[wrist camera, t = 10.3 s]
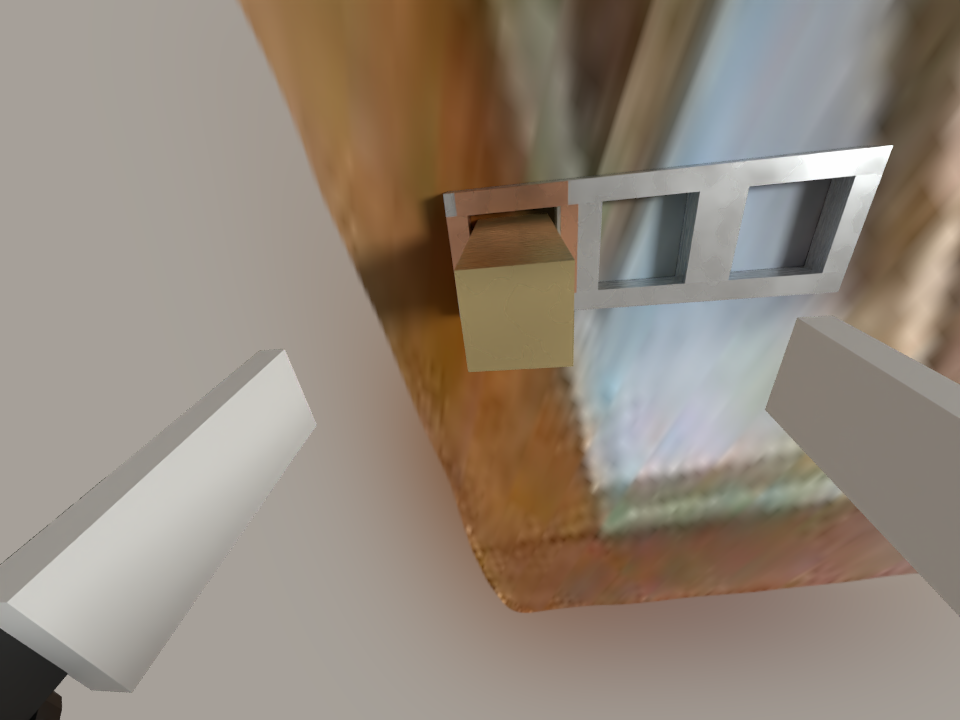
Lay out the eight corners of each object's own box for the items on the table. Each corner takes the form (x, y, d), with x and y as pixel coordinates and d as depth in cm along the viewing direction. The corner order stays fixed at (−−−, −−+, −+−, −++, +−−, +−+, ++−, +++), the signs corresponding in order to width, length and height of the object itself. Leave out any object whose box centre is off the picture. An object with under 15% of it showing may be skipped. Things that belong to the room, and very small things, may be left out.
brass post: (478, 219, 24) (453, 270, 14) (546, 212, 24) (575, 260, 13) (485, 284, 26) (468, 371, 16) (547, 279, 26) (573, 366, 15)
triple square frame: (447, 191, 23) (442, 194, 22) (867, 145, 21) (896, 145, 19) (462, 309, 27) (460, 319, 26) (819, 284, 25) (840, 292, 23)
